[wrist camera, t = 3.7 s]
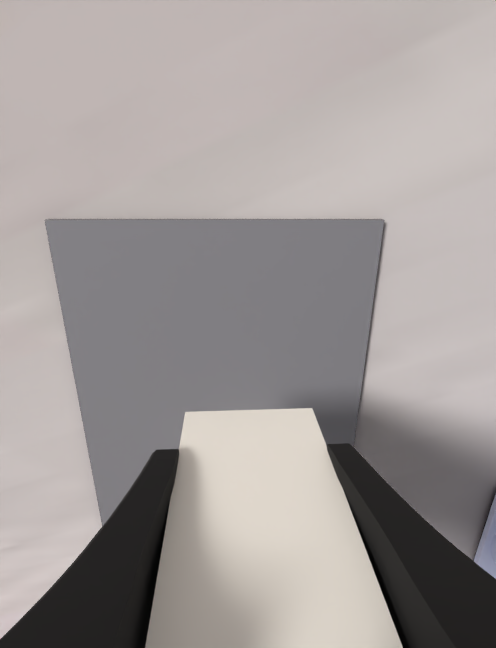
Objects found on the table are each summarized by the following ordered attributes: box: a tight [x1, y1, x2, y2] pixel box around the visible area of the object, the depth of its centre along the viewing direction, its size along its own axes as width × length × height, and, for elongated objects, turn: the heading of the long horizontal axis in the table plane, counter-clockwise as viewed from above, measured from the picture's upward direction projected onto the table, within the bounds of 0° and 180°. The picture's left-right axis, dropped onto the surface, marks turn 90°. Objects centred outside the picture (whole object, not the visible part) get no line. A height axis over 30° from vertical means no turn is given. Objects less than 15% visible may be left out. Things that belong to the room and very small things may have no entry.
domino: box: [145, 408, 403, 648], centre depth 9 cm, size 4×2×7 cm, turn 90°
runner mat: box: [45, 219, 384, 526], centre depth 21 cm, size 14×28×1 cm, turn 0°
